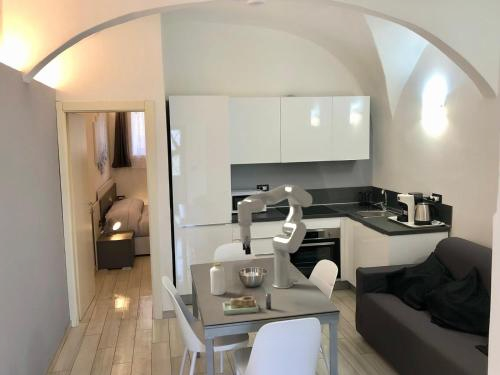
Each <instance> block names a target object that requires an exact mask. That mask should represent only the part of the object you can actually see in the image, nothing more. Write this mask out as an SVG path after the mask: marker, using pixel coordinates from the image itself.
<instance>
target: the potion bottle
mask: <svg viewBox="0 0 500 375" xmlns="http://www.w3.org/2000/svg"><path fill="white" fill-rule="evenodd" d="M209 272H210V294H211V295H214V296H222V295H224V294H225V292H226V275H225V268H224V267H223V266H222V264H221V263H220V262H214V263H213V267H211V268H210V270H209Z"/></svg>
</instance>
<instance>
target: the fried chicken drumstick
mask: <svg viewBox="0 0 500 375" xmlns="http://www.w3.org/2000/svg"><path fill="white" fill-rule="evenodd" d="M254 300H255V299H254V296H253V295H250V296H248V295H247V296H241V297H237V298H236V297H235V298H230V302H231V309H241V308H254V307H255V303H254Z"/></svg>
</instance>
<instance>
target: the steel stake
mask: <svg viewBox="0 0 500 375" xmlns="http://www.w3.org/2000/svg"><path fill="white" fill-rule="evenodd" d="M265 306H266V307H265V308H266V310H267V311H271V310H272V296H271V293H266V294H265ZM270 309H271V310H270Z"/></svg>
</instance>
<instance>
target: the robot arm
mask: <svg viewBox="0 0 500 375" xmlns="http://www.w3.org/2000/svg"><path fill="white" fill-rule="evenodd" d="M284 200H287V201H288V206H289V212H288V214H287V216H286V218H285V220H284V222H283V224H282V227H281V232H282V233H283V234H276V235H274V237H273V238H272V241H271V244H272V245H271V246H272V250H273V258H274V259H273V265H274V268H273V269H274V271H273V272H274V281H273V282H272V284H271V286H272V287H273V288H275V289H289V288H292V287H293V285H294V284H293V283H299V280H298V278H295V277H293V278H291V262H290V261H291V256H290V254H294V253H295V252H297V251H298V250H299V248H300V246H301V244H302V243H303V240H304V238H305V236H306V234H307V225H306V224H305V223H304V222H303V221H302V218H303V215H304V214H303V210H302V207H303V208H308V207H310V206H312V203H313V196H312V194H310V193H309V192H307V191H306V190H305V189H303V188H301V186H298V185H295V184H281V185H280V186H277V187H275V188H273V189H271V190H267V191H263V192H259V193H255V194H252V195H249V196H247V197H245V198H244V199H243V200H239V201H237V204H236V205H237V206H236V207H237V219H238V220H237V221H238V222H237V223H238V227H240V228H239V230H240V231H239V234H240V237H239V238H240V242H241V244H242V250H243V251H244V254H245V256H247V255H252V250H251V249H252V248H251V247H252V246H251V242H252V238H251V237H252V236H251V226H252V225H253V223H252V214H253V213H260V212H262V211H264V209H265V206H271V205H276V204H278V203H280V202H283V201H284Z"/></svg>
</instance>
